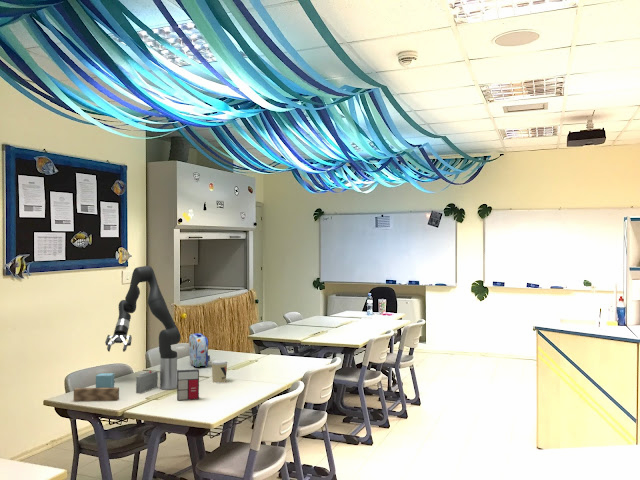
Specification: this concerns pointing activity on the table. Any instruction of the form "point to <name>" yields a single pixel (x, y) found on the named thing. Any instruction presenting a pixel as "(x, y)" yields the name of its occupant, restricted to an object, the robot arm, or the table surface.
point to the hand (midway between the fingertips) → (116, 350)
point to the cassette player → (146, 381)
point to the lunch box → (198, 350)
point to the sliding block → (105, 380)
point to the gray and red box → (187, 384)
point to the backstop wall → (96, 394)
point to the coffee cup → (219, 370)
